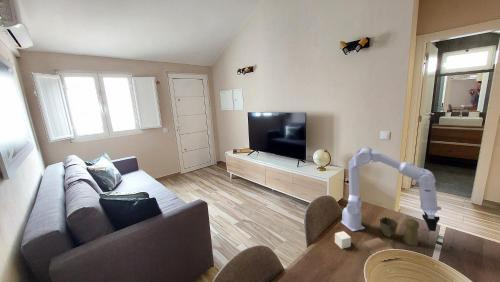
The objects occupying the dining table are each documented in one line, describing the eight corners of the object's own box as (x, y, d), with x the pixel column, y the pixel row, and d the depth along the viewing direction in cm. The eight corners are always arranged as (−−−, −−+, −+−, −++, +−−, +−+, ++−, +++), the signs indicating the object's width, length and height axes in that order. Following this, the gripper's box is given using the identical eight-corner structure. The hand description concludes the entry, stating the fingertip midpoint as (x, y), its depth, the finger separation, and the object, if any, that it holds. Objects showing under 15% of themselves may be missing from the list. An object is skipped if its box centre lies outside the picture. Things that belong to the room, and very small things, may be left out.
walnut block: (362, 247, 100) (362, 241, 99) (377, 243, 102) (378, 237, 102) (378, 261, 91) (378, 255, 91) (394, 256, 94) (395, 250, 93)
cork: (421, 246, 98) (423, 224, 96) (406, 245, 99) (408, 224, 97) (414, 237, 104) (416, 217, 101) (400, 236, 105) (402, 216, 103)
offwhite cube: (334, 242, 104) (334, 233, 103) (343, 240, 105) (343, 231, 104) (341, 249, 99) (341, 239, 98) (350, 246, 100) (350, 237, 99)
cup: (390, 242, 102) (392, 227, 100) (375, 233, 108) (376, 219, 106) (399, 236, 105) (400, 222, 103) (384, 229, 111) (385, 215, 110)
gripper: (442, 205, 86) (445, 236, 87) (437, 191, 97) (440, 219, 99) (420, 203, 90) (423, 233, 91) (418, 190, 101) (421, 217, 103)
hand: (431, 226), depth 95 cm, fingers open, 7 cm apart
